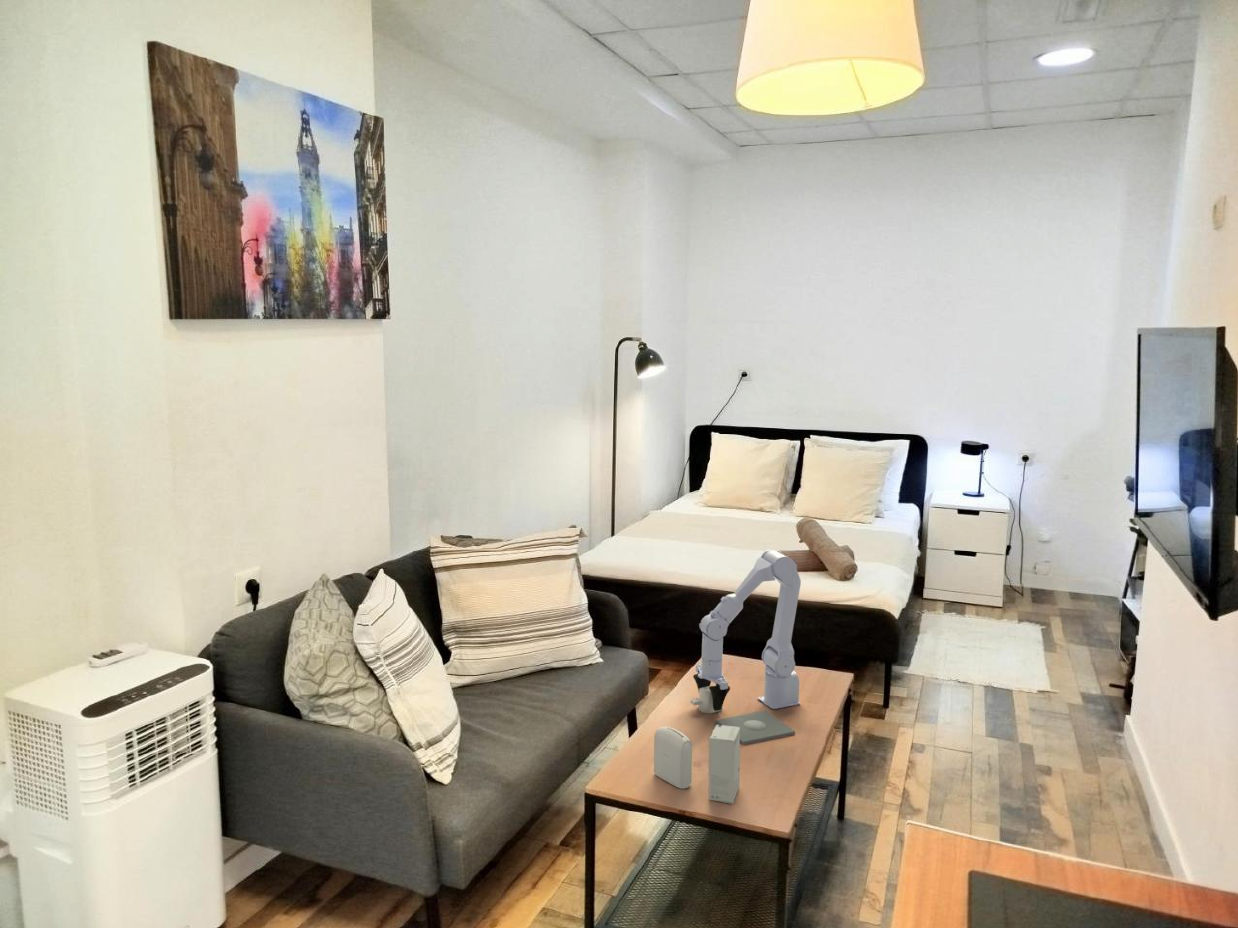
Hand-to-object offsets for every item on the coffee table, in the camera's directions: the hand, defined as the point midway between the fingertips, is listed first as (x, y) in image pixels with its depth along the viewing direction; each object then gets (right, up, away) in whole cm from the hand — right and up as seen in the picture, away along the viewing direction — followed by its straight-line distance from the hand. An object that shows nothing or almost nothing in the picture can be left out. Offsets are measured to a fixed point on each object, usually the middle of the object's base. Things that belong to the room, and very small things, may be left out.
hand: (710, 704), depth 242 cm
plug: (-1, -1, 0) cm, 2 cm away
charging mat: (+11, -3, -11) cm, 16 cm away
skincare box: (-2, -8, -45) cm, 46 cm away
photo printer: (-13, -7, -39) cm, 42 cm away
